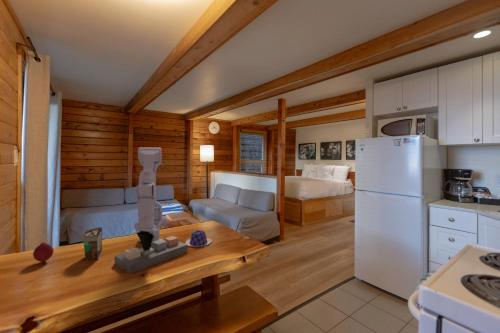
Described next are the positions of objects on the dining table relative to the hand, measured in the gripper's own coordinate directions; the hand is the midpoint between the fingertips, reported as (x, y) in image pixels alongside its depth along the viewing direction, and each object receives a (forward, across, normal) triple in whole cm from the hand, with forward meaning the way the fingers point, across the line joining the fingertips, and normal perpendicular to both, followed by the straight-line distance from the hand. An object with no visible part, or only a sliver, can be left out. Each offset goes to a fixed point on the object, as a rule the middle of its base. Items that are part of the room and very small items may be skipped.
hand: (146, 249), depth 93 cm
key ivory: (+2, 0, -6) cm, 6 cm away
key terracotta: (+2, 0, +11) cm, 11 cm away
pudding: (+4, +1, +25) cm, 25 cm away
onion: (+4, -28, -25) cm, 38 cm away
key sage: (+3, 0, 0) cm, 3 cm away
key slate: (+2, 0, +5) cm, 6 cm away
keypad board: (+4, 0, +3) cm, 5 cm away
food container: (+4, -20, -12) cm, 24 cm away
